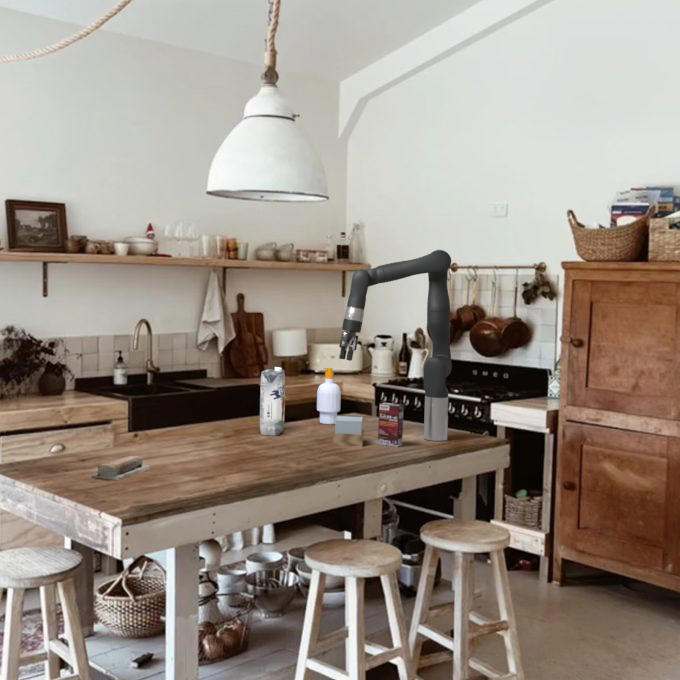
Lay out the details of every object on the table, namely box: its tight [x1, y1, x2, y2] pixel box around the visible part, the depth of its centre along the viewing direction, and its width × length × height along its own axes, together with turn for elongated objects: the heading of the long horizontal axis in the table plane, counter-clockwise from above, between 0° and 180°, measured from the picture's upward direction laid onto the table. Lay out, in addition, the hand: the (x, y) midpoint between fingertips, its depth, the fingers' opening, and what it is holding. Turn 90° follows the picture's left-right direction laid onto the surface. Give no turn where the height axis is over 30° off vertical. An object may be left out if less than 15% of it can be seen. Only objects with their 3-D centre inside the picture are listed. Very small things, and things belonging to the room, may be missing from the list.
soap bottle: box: [316, 367, 342, 425], centre depth 381 cm, size 10×10×24 cm
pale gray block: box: [334, 415, 364, 434], centre depth 337 cm, size 10×10×5 cm
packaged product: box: [91, 455, 151, 481], centre depth 279 cm, size 18×5×10 cm
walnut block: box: [332, 429, 364, 447], centre depth 338 cm, size 11×11×5 cm
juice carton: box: [259, 366, 286, 436], centre depth 353 cm, size 9×10×27 cm
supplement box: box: [377, 402, 405, 448], centre depth 336 cm, size 9×5×16 cm, turn 62°
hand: (345, 359), depth 347 cm, fingers open, 8 cm apart
